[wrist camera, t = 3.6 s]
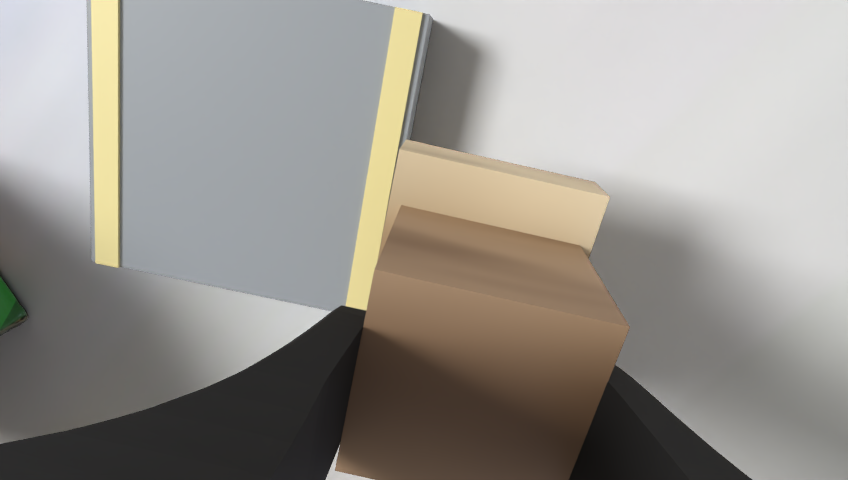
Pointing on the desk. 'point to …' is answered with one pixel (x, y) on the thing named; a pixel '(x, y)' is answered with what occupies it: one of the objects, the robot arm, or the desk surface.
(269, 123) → the dock
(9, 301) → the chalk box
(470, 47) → the desk surface
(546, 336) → the tan cardboard carton
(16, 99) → the desk surface
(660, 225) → the desk surface
